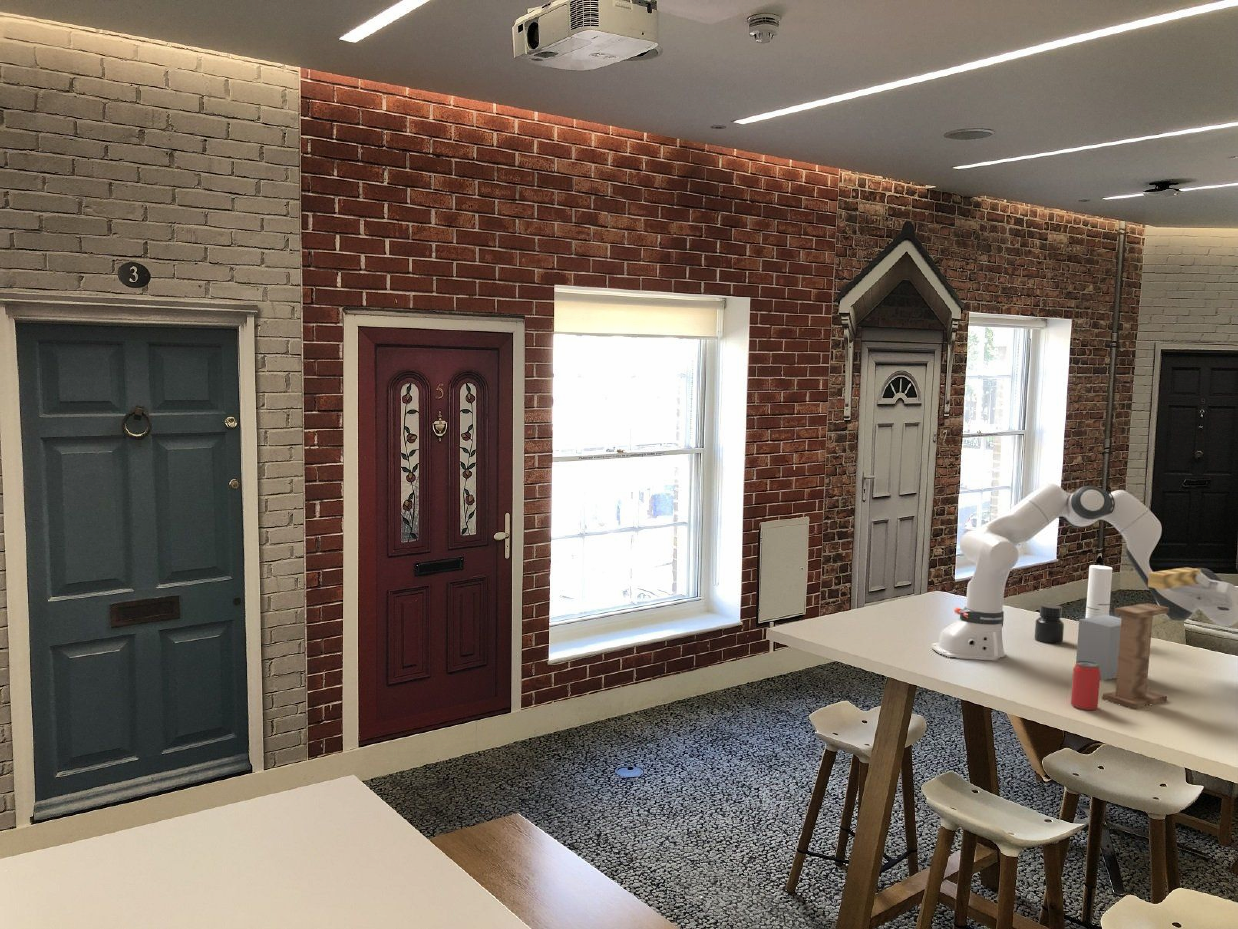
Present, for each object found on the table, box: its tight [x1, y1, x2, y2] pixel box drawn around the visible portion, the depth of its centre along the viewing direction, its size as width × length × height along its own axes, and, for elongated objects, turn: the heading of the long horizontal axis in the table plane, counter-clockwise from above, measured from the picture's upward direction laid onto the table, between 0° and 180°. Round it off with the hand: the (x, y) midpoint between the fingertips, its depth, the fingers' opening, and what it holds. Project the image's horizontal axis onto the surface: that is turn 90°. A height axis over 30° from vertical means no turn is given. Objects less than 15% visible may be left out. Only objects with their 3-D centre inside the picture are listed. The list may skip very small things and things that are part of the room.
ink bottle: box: [1034, 603, 1065, 644], centre depth 333 cm, size 10×9×12 cm
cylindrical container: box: [1085, 564, 1113, 618], centre depth 338 cm, size 7×7×25 cm
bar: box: [1147, 567, 1201, 589], centre depth 276 cm, size 19×4×4 cm, turn 121°
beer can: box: [1070, 661, 1101, 711], centre depth 264 cm, size 7×7×12 cm
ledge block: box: [1075, 614, 1122, 681], centre depth 297 cm, size 14×10×16 cm
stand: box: [1101, 602, 1169, 710], centre depth 270 cm, size 16×9×26 cm, turn 121°
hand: (1185, 575), depth 279 cm, fingers closed on bar, 4 cm apart
